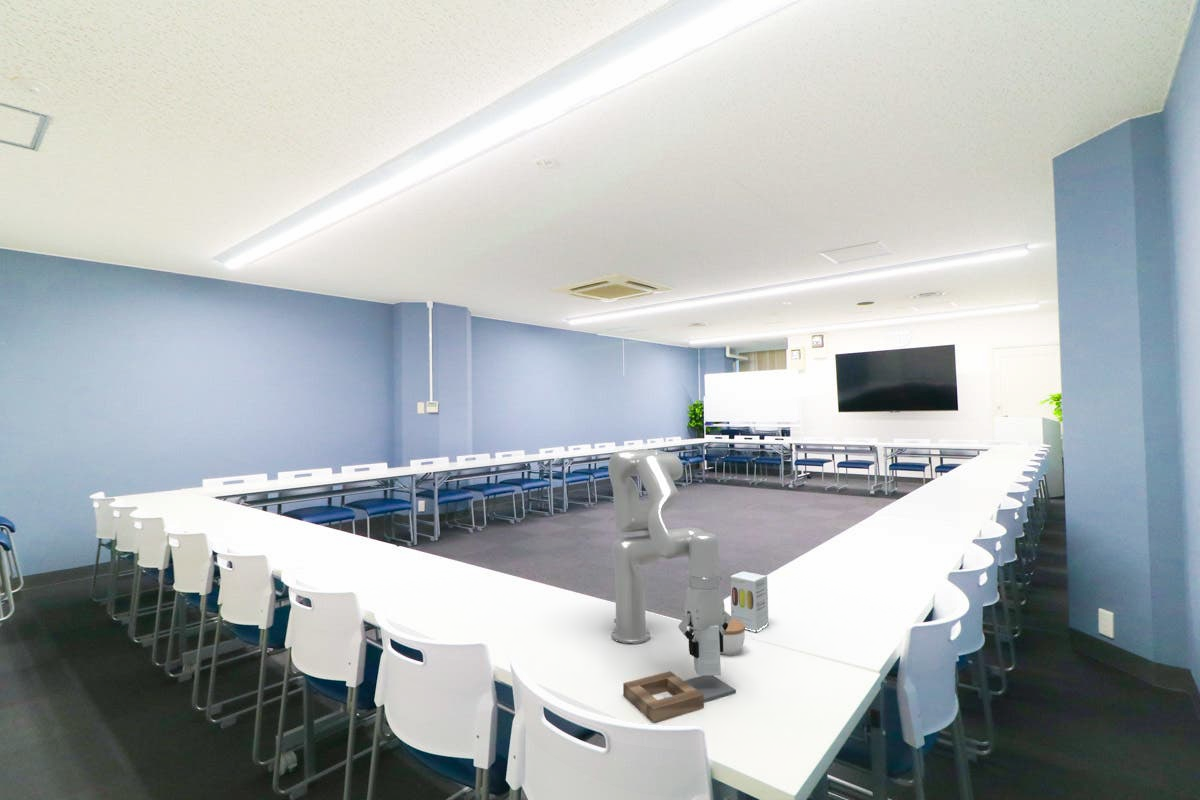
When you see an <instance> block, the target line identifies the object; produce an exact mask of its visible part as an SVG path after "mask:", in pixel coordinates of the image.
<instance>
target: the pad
mask: <svg viewBox="0 0 1200 800" xmlns="http://www.w3.org/2000/svg"><path fill="white" fill-rule="evenodd" d="M683 681H685V682H686V683H688V684H689V685H691V686H692V687H693V688H695V689H696V690H698V691H699V692H700V693H702V694H703V695H704V703H706V702H711V701H713V700H717V699H720V698H724V697H727V696H731V695H735V694H736V693H737V689H736V688H734V687H732V686H731V685H729V684H728V683H726V682H725V681H723V680H721V679H720V678H718V677H717V676H716V675H709V676H696V677H692V678H689V679H685V680H684V679H683Z"/></svg>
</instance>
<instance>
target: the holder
mask: <svg viewBox="0 0 1200 800" xmlns="http://www.w3.org/2000/svg"><path fill="white" fill-rule="evenodd" d="M622 691H623V697H625V699H626V700H627V701H629V703H631V704H632V705H633V706H634V707H635V708H636V709H637V710H639V711H640V712H641V713H642V714H643V715H644V716H645V717H646V718H647V719H649V720H650V721H651V722H652V723H653V724H655V723H656V724H657V723H659V722H662V721H666V720H669V719H671V718H675V717H679V716H682V715H685V714H688V713H692V712H697V711H699V710H702V709H704V708H705V702H704V695H703V694H702V693H700V692H699V691H698V690H696V689H695V688H693V687H692V686H691V685H689V684H688V683H686V682H685V681H684V679H682V678H681V677H679V676H678V675H676V674H675V673H674V672H672V671H671V670H669V671H666V672H661V673H658V674H657V673H656V674H654V675H649V676H645V677H643V678H638V679H634V680H633V679H632V680H630V681H626V682H623V690H622ZM665 692H669V693H670V694H671V695H670V696H667V697H664V698H661V699H657V698H656V697H654V695H657V694H660V693H665Z"/></svg>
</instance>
